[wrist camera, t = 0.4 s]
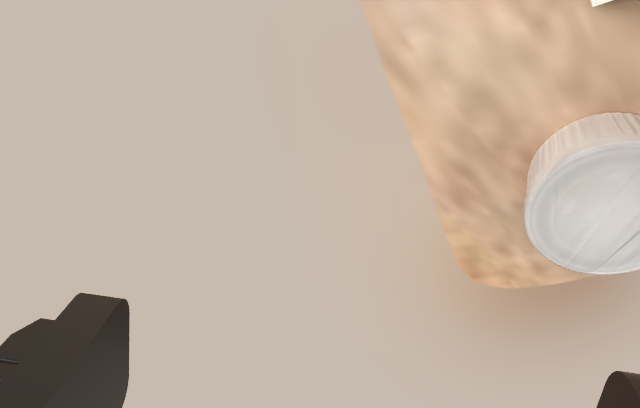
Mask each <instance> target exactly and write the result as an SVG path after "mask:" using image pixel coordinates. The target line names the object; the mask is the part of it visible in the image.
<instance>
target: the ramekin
mask: <svg viewBox="0 0 640 408" xmlns="http://www.w3.org/2000/svg"><path fill="white" fill-rule="evenodd" d="M523 219H524V225H525V229H526V232H527V235H528V238H529V239H530V241H531V243H532V244H533V246H534V247H535V248H536V249H537V250H538V251H539V252H540V253H541V254H542V255H543V256H544V257H545V258H547V259H548V260H550V261H552V262H553V263H555V264H557V265H559V266H561V267H564V268H567V269H569V270H573V271H576V272H580V273H586V274H598V275H608V274H620V273H626V272H632V271H636V270H640V115H635V114H632V113H621V112H613V113H611V112H607V113H601V114H595V115H590V116H587V117H584V118H581V119H578V120H576V121H574V122H571V123H569V124H567V125H566V126H564V127H562V128H560V129H559V130H558V131H557V132H555V133H554V134H552V135H551V136H550V137H549V138H548V139H547V140H546V141H545V142H544V143H543V144H542V145H541V146H540V147H539V149H538V151H537V152H536V153H535V155H534V158H533V159H532V161H531V165H530V167H529V171H528V177H527V192H526V196H525V200H524V205H523Z"/></svg>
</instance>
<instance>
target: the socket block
mask: <svg viewBox="0 0 640 408" xmlns="http://www.w3.org/2000/svg"><path fill="white" fill-rule="evenodd" d="M589 1H590V3H591V5H592V7H594V6H597V5H600V4H603V3H606V2H609V1H612V0H589Z"/></svg>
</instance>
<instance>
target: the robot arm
mask: <svg viewBox="0 0 640 408" xmlns="http://www.w3.org/2000/svg"><path fill="white" fill-rule="evenodd" d="M128 379H129V305H128V302H127V300H126V299H120V298H113V297H106V296H99V295H92V294H85V293H79V294H78V295H76V297H74V299H73V300H72V301H71V302H70V303H69V305H68V306H67V307H66V308H65V309H64V310H63V312H62V313H61V314H60V315H59V316H58V317H57V319H56V320H49V319H39V320H37V321H35V322H33V323H31V324H30V325H28V326H26V327H24V328H22V329H20V330H19V331H17V332H15V333H13V334H11V335H10V336H9V338H7V339H6V341H5V342H4V343H3V344H2V345H1V346H0V408H122V406H123V403H124V400H125V396H126V391H127V386H128ZM597 408H640V374H635V373H628V372H621V371H615V372H613V373H612V374H611V375H610V376H609V377H608V379H607V381H606V383H605V386H604V389H603V392H602V394H601V397H600V400H599V402H598V406H597Z"/></svg>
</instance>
